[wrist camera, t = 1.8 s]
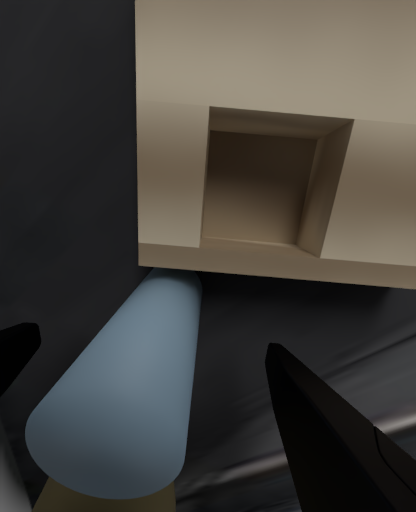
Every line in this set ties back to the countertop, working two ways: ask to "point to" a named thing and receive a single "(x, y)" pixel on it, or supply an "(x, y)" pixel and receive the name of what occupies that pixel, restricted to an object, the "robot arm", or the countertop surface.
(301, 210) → the board
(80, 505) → the squeeze bottle
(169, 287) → the peg
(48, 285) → the countertop surface
